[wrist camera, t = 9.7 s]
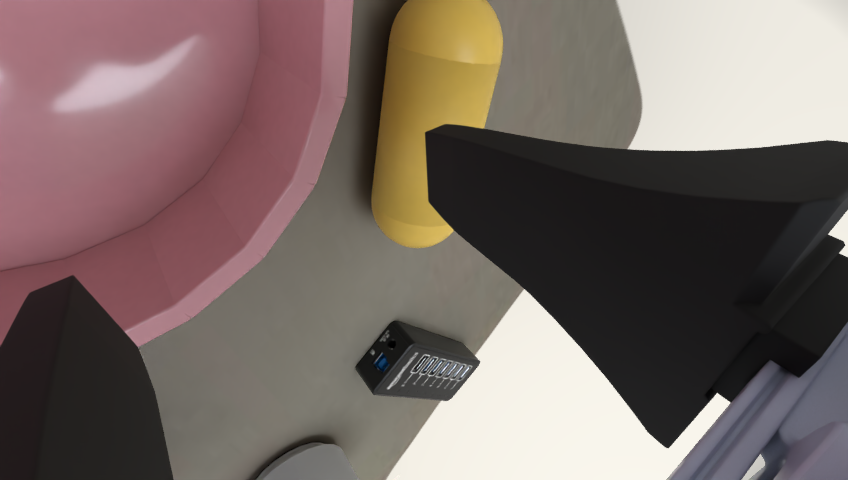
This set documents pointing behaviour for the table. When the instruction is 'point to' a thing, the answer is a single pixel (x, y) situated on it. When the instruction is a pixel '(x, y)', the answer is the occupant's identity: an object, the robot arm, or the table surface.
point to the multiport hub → (416, 364)
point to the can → (311, 464)
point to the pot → (159, 144)
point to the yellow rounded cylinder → (429, 105)
